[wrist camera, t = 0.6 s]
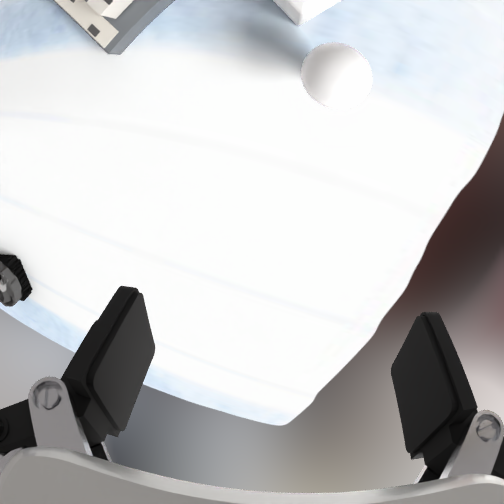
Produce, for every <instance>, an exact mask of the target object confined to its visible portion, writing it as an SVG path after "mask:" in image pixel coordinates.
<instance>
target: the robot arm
mask: <svg viewBox="0 0 504 504" xmlns="http://www.w3.org/2000/svg"><path fill="white" fill-rule="evenodd" d="M154 353H155V344H154V340H153V336H152V332H151V328H150V324H149V320H148V316H147V311H146V307H145V302H144V298H143V294H142V293H139V291H138V289H137V288H133V287H126V286H120V287H119V288H118V290H117V291H116V293H115V294H114V296H113V297H112V299H111V300H110V302H109V303H108V305H107V307H106V308H105V310H104V311H103V313H102V314H101V316H100V318H99V319H98V320H97V321H95V323H94V324H93V325H92V327H91V328H90V330H89V332H88V333H87V335H86V337H85V338H84V340H83V342H82V343H81V345H80V347H79V348H78V350H77V352H76V353H75V355H74V357H73V359H72V360H71V362H70V364H69V365H68V367H67V369H66V371H65V372H64V374H63V376H62V378H61V379H58V378H56V377H45V378H42V379H40V380H38V381H37V382H36V383H35V384H34V385H33V386H32V388H31V389H30V392H29V395H28V399H27V400H24V401H22V402H19V403H16V404H14V405H11V406H9V407H6V408H3V409H1V410H0V504H504V425H503V423H502V420H501V419H500V417H499V416H498V415H497V414H495V413H494V412H492V411H489V410H483V411H480V412H477V405H476V401H475V399H474V396H473V393H472V390H471V387H470V385H469V382H468V379H467V377H466V374H465V372H464V369H463V367H462V364H461V362H460V359H459V357H458V355H457V352H456V350H455V347H454V345H453V343H452V340H451V338H450V336H449V334H448V332H447V330H446V327H445V325H444V323H443V321H442V318H441V316H440V315H439V313H437V312H423V313H422V314H421V315H420V316H418V317H417V318H416V320H415V322H414V324H413V326H412V328H411V330H410V332H409V334H408V336H407V338H406V340H405V342H404V344H403V346H402V348H401V349H400V351H399V353H398V355H397V357H396V359H395V361H394V363H393V364H392V368H391V376H392V380H393V384H394V389H395V393H396V398H397V403H398V408H399V413H400V418H401V423H402V428H403V434H404V439H405V446H406V450H407V452H408V453H410V455H411V459H418V458H424V461H425V465H424V466H423V468H422V470H421V471H420V473H419V475H418V476H417V478H416V480H415V481H414V483H413V484H411V485H404V486H398V487H391V488H383V489H375V490H365V491H353V492H339V493H337V492H336V493H279V492H262V491H250V490H240V489H232V488H224V487H217V486H209V485H203V484H198V483H192V482H187V481H182V480H178V479H173V478H168V477H164V476H160V475H156V474H152V473H148V472H144V471H140V470H136V469H133V468H130V467H126V466H123V465H119V464H116V463H113V462H112V460H111V458H110V456H109V454H108V451H107V449H106V446H105V444H104V440H105V438H106V435H107V434H109V435H113V436H116V437H118V435H119V433H120V431H124V430H125V428H126V426H127V423H128V420H129V418H130V415H131V412H132V409H133V407H134V404H135V402H136V399H137V396H138V394H139V391H140V389H141V386H142V384H143V381H144V379H145V376H146V373H147V371H148V368H149V366H150V363H151V361H152V359H153V356H154Z"/></svg>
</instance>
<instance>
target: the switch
mask: <svg viewBox="0 0 504 504" xmlns="http://www.w3.org/2000/svg"><path fill="white" fill-rule="evenodd" d="M133 1H134V0H88V1H87V2H86V3H88V4H89V5H90V6H91V7H92V8H93V9H94V10H95V11H96V12H97V13H99V14H100V15H102V16H106V17H110V18H115V19H116V18H117V17H118V16H119V15H120V14H121V13H122V12H123V11H124V10H125V9H126V8H127V7H128V6H129V5H130V4H131V3H132V2H133Z"/></svg>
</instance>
